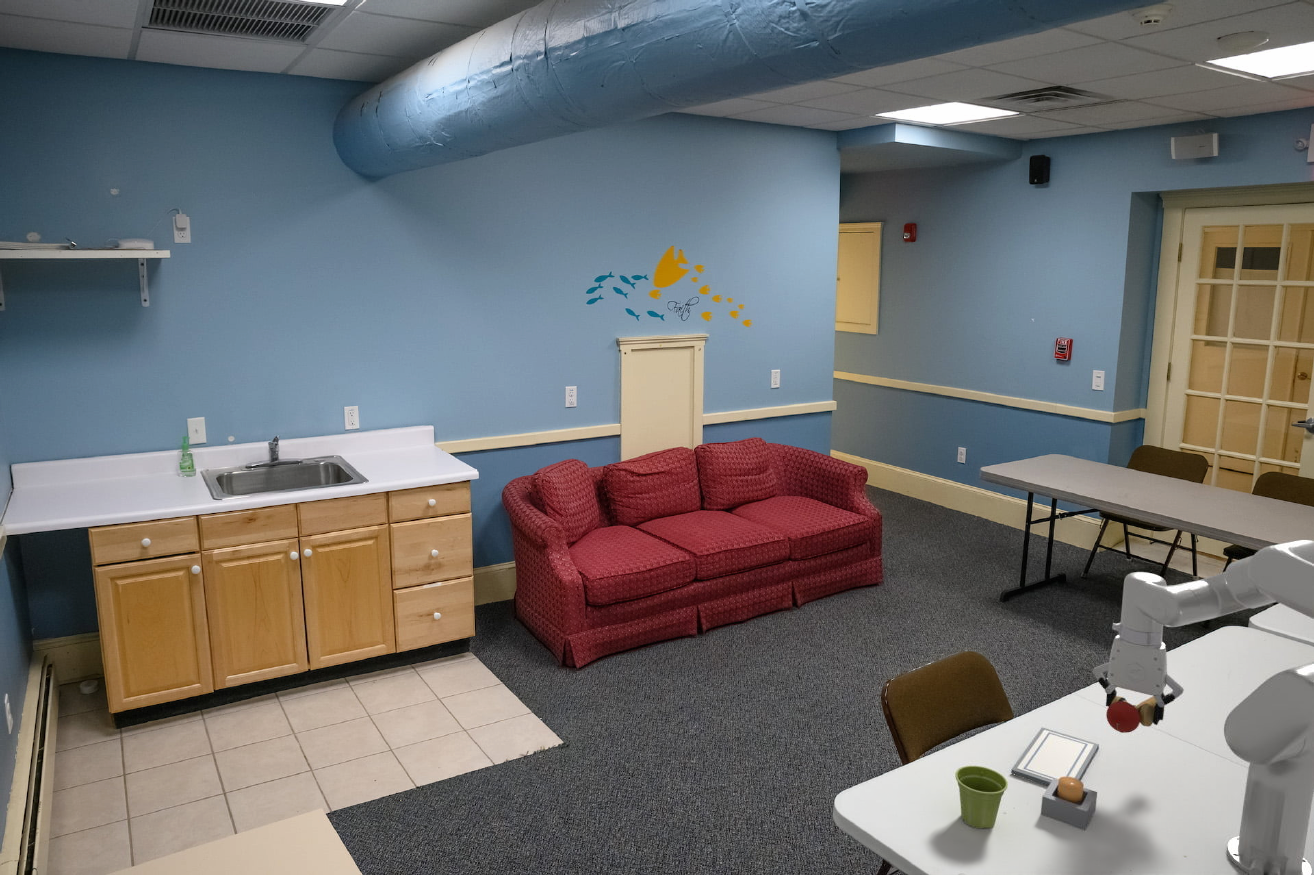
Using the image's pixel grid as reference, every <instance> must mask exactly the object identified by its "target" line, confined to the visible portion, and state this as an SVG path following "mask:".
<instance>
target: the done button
mask: <svg viewBox="0 0 1314 875" xmlns="http://www.w3.org/2000/svg"><path fill="white" fill-rule="evenodd" d="M1083 788H1085V787H1084V783H1083V782H1082V781H1081V780H1078V779H1076V778H1073V777H1067V776H1065V777H1061V778H1059V782H1058V792H1057V795H1058V797H1059V798H1060V799H1063V800H1066V801H1069V802H1072V803H1075V804H1077V803H1080V802H1082V797H1083Z"/></svg>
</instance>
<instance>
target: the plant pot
mask: <svg viewBox="0 0 1314 875" xmlns="http://www.w3.org/2000/svg"><path fill="white" fill-rule="evenodd" d="M955 780H956V781H957V782H956V783H957V786H958V789H959V790H958V791H959V801H960V813H961V814H960V816H961V818H962V819H963V821H964V823H965V824H967V825H969V826H970V825H971V826H970V827H973V828H976V829H983V828H985V829H991V828H992V827H994V826H995V824H996V821H997V817H998V812H999V809H1000V805H1001V801H1002V798H1003V795H1004V794H1005V791H1007V789H1008V786H1009V783H1008V780H1007V778H1006V777H1004V775H1002V774H1001V773H999V771H998V772H997V771H996V770H995V769H992V768H989V767H985V766H981V765H980V766H979V765H965V766H962V767H960V768H958V769H957V770H956V771H955Z"/></svg>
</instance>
